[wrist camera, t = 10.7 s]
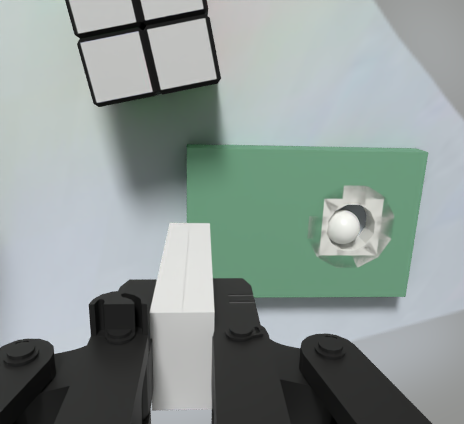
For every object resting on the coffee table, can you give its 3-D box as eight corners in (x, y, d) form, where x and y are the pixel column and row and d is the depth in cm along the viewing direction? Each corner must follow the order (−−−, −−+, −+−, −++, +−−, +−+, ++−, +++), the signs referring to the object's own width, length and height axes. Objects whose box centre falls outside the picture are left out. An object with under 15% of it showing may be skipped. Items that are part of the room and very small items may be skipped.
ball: (316, 240, 48) (341, 251, 45) (319, 208, 46) (344, 217, 44) (340, 234, 49) (365, 245, 46) (343, 204, 48) (369, 212, 45)
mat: (187, 287, 49) (186, 297, 47) (187, 144, 45) (186, 147, 42) (395, 286, 51) (405, 296, 49) (416, 148, 46) (428, 152, 44)
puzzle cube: (196, -31, 40) (194, -65, 31) (218, 81, 43) (222, 82, 34) (88, -10, 40) (53, -37, 31) (117, 101, 43) (93, 108, 34)
